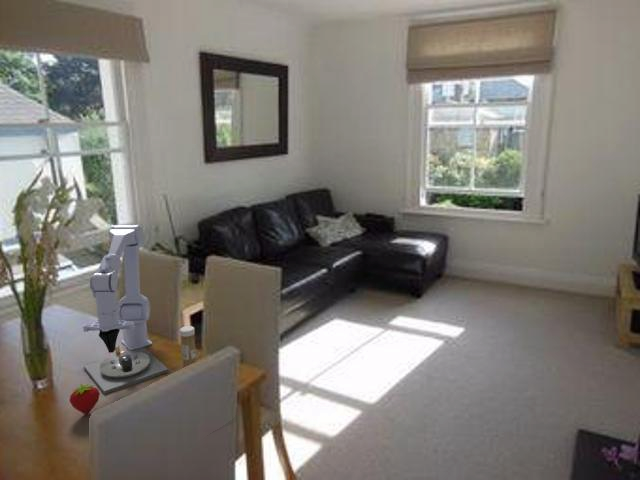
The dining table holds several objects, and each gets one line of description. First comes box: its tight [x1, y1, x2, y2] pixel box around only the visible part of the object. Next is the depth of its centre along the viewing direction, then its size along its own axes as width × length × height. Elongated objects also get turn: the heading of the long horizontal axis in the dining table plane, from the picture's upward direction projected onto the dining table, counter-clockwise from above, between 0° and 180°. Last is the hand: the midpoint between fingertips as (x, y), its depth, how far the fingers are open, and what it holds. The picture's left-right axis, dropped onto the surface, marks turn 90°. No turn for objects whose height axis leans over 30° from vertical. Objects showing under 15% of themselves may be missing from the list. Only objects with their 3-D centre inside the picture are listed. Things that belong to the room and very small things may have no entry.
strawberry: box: [69, 383, 100, 415], centre depth 136 cm, size 6×8×10 cm
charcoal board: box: [83, 346, 169, 395], centre depth 160 cm, size 20×20×1 cm
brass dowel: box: [114, 345, 121, 354], centre depth 166 cm, size 1×1×4 cm
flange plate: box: [100, 350, 150, 379], centre depth 160 cm, size 16×15×5 cm
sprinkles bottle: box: [179, 325, 197, 368], centre depth 161 cm, size 5×5×13 cm
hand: (112, 351), depth 153 cm, fingers closed
